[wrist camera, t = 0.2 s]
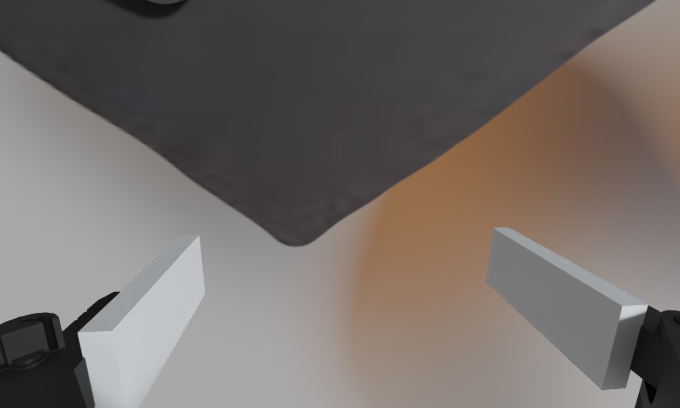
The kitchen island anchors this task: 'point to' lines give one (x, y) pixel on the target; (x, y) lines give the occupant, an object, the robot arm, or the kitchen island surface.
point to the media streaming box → (165, 1)
